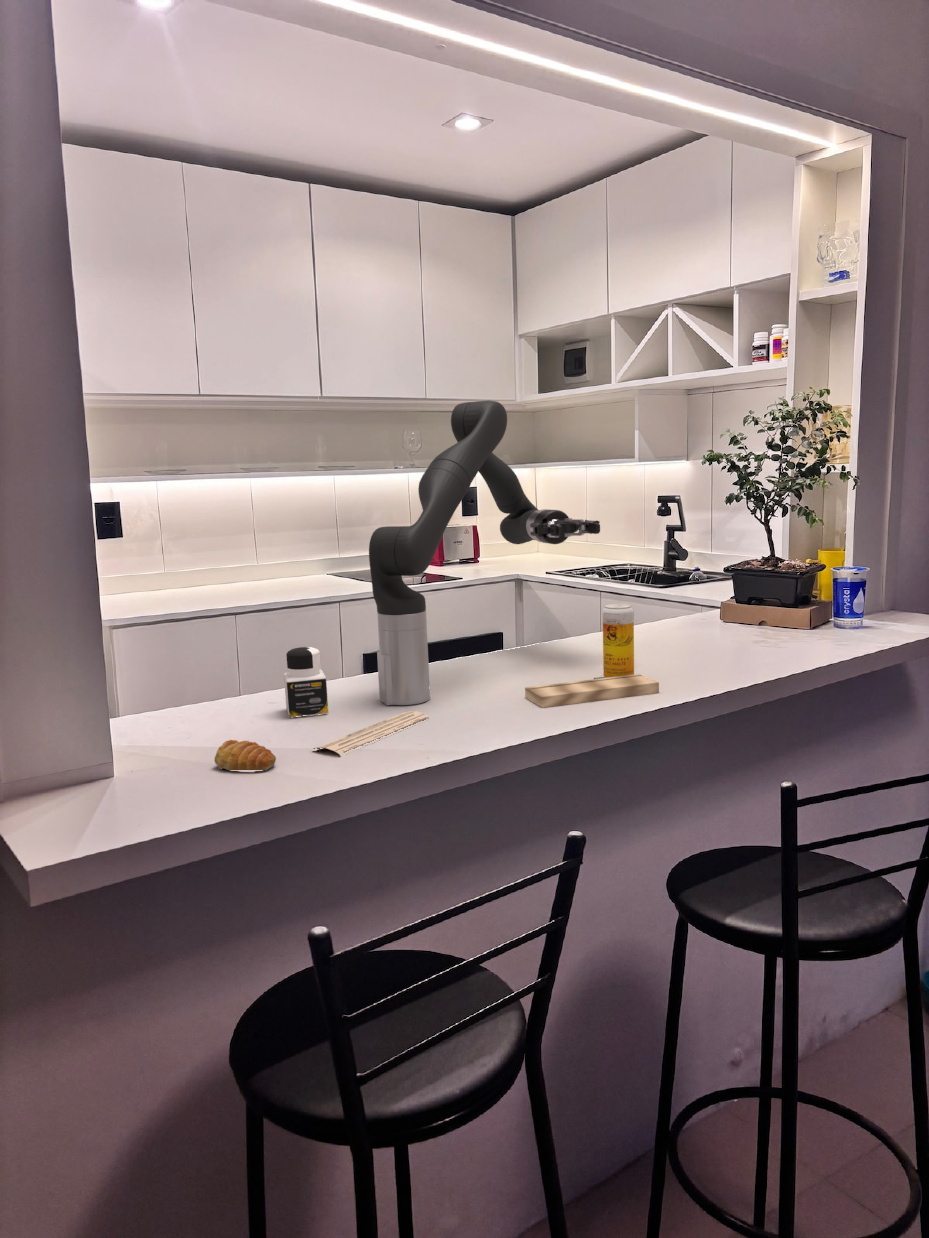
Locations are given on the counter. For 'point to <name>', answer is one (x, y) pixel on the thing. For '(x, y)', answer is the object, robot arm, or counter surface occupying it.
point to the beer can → (618, 640)
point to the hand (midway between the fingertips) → (579, 529)
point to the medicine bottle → (305, 683)
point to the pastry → (244, 756)
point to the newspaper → (375, 732)
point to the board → (591, 690)
